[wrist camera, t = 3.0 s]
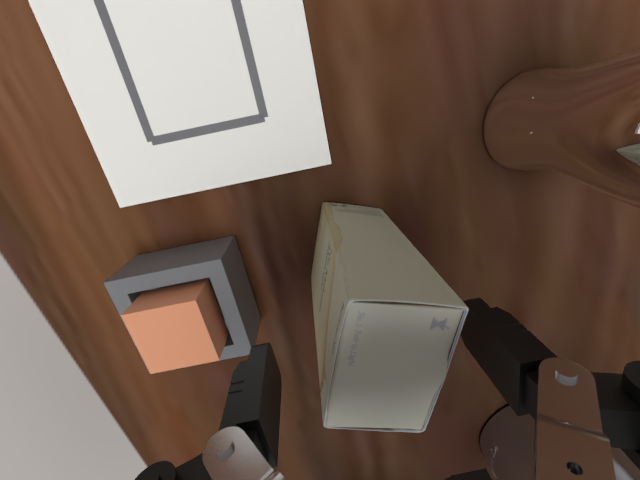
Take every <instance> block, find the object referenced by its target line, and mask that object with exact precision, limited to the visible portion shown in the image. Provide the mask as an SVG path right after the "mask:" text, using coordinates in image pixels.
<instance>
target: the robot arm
mask: <svg viewBox="0 0 640 480" xmlns="http://www.w3.org/2000/svg"><path fill="white" fill-rule="evenodd" d="M463 302H464V303H465V304H466V306H467V307H468V309H469V310H468V313H467V316H466V319H465V321H464V324H463V328H462V330H461V336H462V339H463V342H464V344H465V346H466V347H467V349H468V350H469V351H470V353H471V354H472V355H473V357H474V358H475V359H476V361H477V362H478V364H479V365H480V366H481V368H482V369H483V370H484V372H485V373H486V374H487V376H488V377H489V378H490V380H491V381H492V382H493V384H494V385H495V386H496V388H497V389H498V391H499V392H500V393H501V395H502V396H503V397H504V399H505V400H506V401H507V403H508V404H509V406H507V407H505V408H504V409H502V410H501V411H499V412H498V413H497V414H495V415H494V416H493V417H492V418H491V419H490V420H489V421H488V423H487V424H486V425H485V427H484V428H483V431H482V433H481V436H480V447H481V450H482V452H483V454H484V456H485V458H486V460H487V462H488V463H489V466H490V468H491V470H492V472H493V474H494V476H495V477H496V478H497V480H640V361H633V362H630V363H628V364H626V365H625V367H624V371H623V374H614V373H595V372H590V371H589V370H588V369H587V368H585V367H584V366H582V365H581V364H579V363H577V362H575V361H572V360H569V359H565V358H558V357H557V356H556V355H555V354H554V353H552V352H551V351H550V350H549V349H548V348H547V347H546V346H545V345H544V344H543V343H542V342H540V341H539V340H538V339H537V338H536V337H535V336H534V335H533V334H532V333H531V332H530V331H527V329H526V328H525V327H524V326H523V325H522V324H520V323H519V321H518V320H516V319H515V318H514V317H513V316H512V315H511V314H510V313H508V312H506V311H504V310H502V309H500V308H498V307H494V308H490V307H489V306H488V305H487V304H486V303H485V302H484V301H483V300H482V299H481V298H475V299H470V300H465V301H463ZM228 394H229V395H228V396H227V400H226V404H225V408H224V412H223V416H222V420H221V424H220V429H219V432H217V433H216V434H215V435H214V436H212V438H211V439H210V440H209V441H208V443H207V444H206V446H205V448H204V451H203V453H202V454H200V455H199V456H197V457H195V458H193V459H192V460H190V461H188V462H186V463H184V464H182V465H180V466H178V467H177V468H175V467H174V465H173V464H172V463H171V462H168V461H160V462H157V463H154V464H152V465H151V466H149V467H147V468H146V469H145V470H144V471H142V472H141V473H140V474H139V475H138V476H137V478H136V479H135V480H286V479H285V478H284V477H283V475H282V474H281V473H280V472H279V471H278V470H276V471H274V470H273V469H272V468H273V467H277V460H278V441H279V423H280V404H281V375H280V371H279V367H278V364H277V361H276V358H275V355H274V352H273V349H272V346H271V344H270V343H264V344H260V345H255V346H252V347H251V349H250V354H249V359H248V360H246V361H242V362H240V363H239V365H238V366H237V368H236V369H235V371H234V372H233V376H232V380H231V386H230V388H229V392H228ZM445 480H492V479H491V478H490V476H489V474H488V472H487V470H486V468H485V469H481V470H476V471H471V472H466V473H462V474H457V475H452V476H450V477H449V478H447V479H445Z"/></svg>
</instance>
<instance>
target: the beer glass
mask: <svg viewBox="0 0 640 480" xmlns="http://www.w3.org/2000/svg"><path fill="white" fill-rule="evenodd" d="M483 136H484V142H485V145H486V148H487V150H488V152H489V154H490V155H491V157H492V158H493V159H494V160H495V161H496V162H497V163H498V164H500V165H501V166H503V167H505V168H508V169H512V170H519V171H531V170H549V171H554V172H557V173H560V174H563V175H565V176H567V177H570V178H572V179H574V180H576V181H578V182H580V183H582V184H584V185H586V186H588V187H591V188H593V189H595V190H597V191H599V192H601V193H603V194H606V195H608V196H610V197H612V198H614V199H617V200H619V201H622V202H624V203H627V204H629V205H632V206H634V207H637V208H639V209H640V45H639V46H636V47H634V48H631V49H629V50H626V51H624V52H622V53H619V54H617V55H614V56H612V57H609V58H607V59H604V60H602V61H599V62H597V63H594V64H591V65H588V66H585V67H581V68H575V69H561V68H538V69H532V70H529V71H526V72H523V73H521V74H519V75H518V76H516V77H514V78H513V79H511V80H510V81H509V82H507V83H506V84H505V85H504V86H503V87H502V88H501V89H500V90H499V91H498V93H497V94H496V95H495V97H494V98H493V100H492V102H491V104H490V105H489V108H488V110H487V113H486V116H485V120H484V127H483Z"/></svg>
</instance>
